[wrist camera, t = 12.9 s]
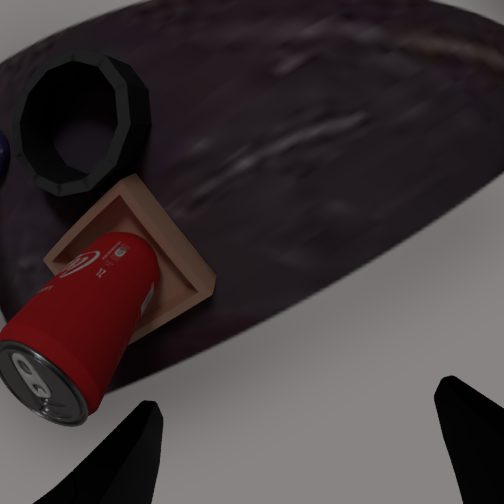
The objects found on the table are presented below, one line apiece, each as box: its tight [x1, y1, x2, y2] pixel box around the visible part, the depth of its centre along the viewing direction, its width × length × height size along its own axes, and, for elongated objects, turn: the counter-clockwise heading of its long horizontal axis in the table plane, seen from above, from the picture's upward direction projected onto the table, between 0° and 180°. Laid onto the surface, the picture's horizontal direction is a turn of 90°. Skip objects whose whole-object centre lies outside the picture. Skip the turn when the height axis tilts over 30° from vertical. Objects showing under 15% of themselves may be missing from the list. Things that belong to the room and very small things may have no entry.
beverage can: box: [0, 232, 160, 427], centre depth 14 cm, size 5×5×12 cm
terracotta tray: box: [43, 173, 217, 345], centre depth 19 cm, size 9×9×2 cm
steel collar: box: [12, 48, 152, 197], centre depth 15 cm, size 8×8×4 cm
